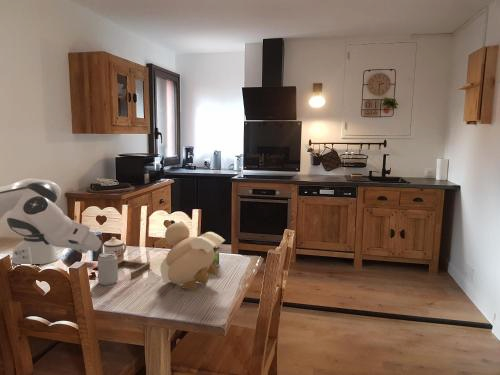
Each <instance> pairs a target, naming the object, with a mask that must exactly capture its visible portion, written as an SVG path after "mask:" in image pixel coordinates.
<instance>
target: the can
mask: <svg viewBox="0 0 500 375" xmlns="http://www.w3.org/2000/svg"><path fill="white" fill-rule="evenodd" d="M97 274H98V275H97V278H98V279H97V280H98V283H99V284H101V285H103V286H111V285H114V284H116V283H117V281H118V280H119V269H118V263H117V256H116V254H115V253H113V252H106V253H104V252H102V253H100V254H99V256H98V258H97Z"/></svg>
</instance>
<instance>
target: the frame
mask: <svg viewBox="0 0 500 375" xmlns="http://www.w3.org/2000/svg"><path fill="white" fill-rule="evenodd" d="M123 267H127V268H135V269H134V270H133V271H131V272H130V275H131V276H130V278H131V279H135V278H136V277H138V276H139V275H141V274H143V273H145V272H146V271H148V270H150V269H151V268H150V267H151V266H150V263H149V262H141V261H134V260H127V259H124V260H122V261H120V262H118V270H119V269H121V268H123Z"/></svg>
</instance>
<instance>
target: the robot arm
mask: <svg viewBox="0 0 500 375" xmlns="http://www.w3.org/2000/svg"><path fill="white" fill-rule="evenodd" d="M61 196H62V189H61V187H60V186H59V184H58V183H55V182H54V181H52V180H48V179H42V178H41V179H40V178H33V177H32V178H31V177H30V178H24V179H21V180H18V181H16V182H14V183H10V184H7V185H4V186H0V220H1V219H3V217H4V216H5V215H6V214H7V213H8V212H10V213H9V214H8V217H7V218H6V222H7V225H8V227H9V228H10V229H11V230H12V231H13V232H15V233H16V234H18V235H20V236H21V237H23V240H22V241H20V242H19V243H18V244H16V246H14V247H13V249H12V255H11V256H10V257H11V260H12V263H11V264H15V265H19V264H34V265H33V266H36V265H35V264H40V265H47V264H50V263H53V262H55V261H57V260H59V256H58V255H59V254H58V252H57V248H56V247H58V248H63V249H64V248H67V249H73V250H75V251H77V252H78V253H79V254H80V253H81V254H87V253H88V251H90V252H98V251H99V249H100V248H101V245H102V240H100V238H99V237H98V236H97V235H96V234H95V233H94V232H93V231H92V230H90V226H88V224H87V225H85V224H84V223H80V222H77V221H76V220H73V219H71V218H70V217H69V216H67V215H65V214H64V212H63V210H62V209H61V208H60V207H59V206H57V205H56V203H57V201H59V199H60V198H61ZM19 266H20V265H19Z"/></svg>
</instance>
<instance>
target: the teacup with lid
mask: <svg viewBox="0 0 500 375" xmlns="http://www.w3.org/2000/svg"><path fill="white" fill-rule="evenodd" d="M103 246H104V247H103V250H104V252H103V253H106V252H113V253H115V254H116V256H117V263H118V262H120V261H122V260H125V259H124V257H125V256H124V254H125V253H126V251H127V244H126V243H125V242H124V241H123V240H120V239H117V238H116V237H115V236H112V237H111V239H108V240H107V241H105V242H103Z"/></svg>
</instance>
